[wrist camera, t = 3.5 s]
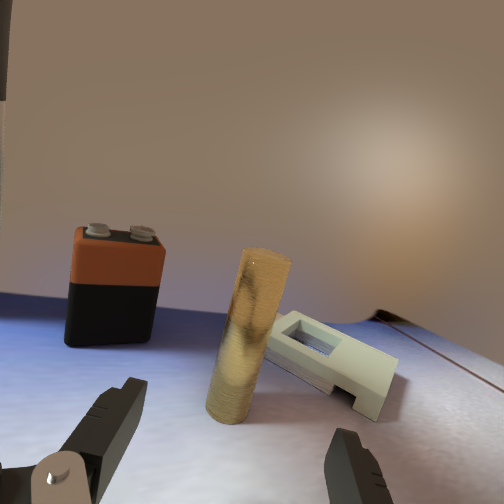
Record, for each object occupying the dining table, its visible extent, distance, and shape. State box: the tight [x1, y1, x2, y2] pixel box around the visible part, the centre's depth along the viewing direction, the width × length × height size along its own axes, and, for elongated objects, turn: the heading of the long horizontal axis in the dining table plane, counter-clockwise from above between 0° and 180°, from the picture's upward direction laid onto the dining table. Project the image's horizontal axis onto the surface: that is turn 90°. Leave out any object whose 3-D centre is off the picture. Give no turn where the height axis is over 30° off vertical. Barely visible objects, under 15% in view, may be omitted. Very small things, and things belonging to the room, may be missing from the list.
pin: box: [206, 247, 292, 424], centre depth 22 cm, size 3×3×12 cm
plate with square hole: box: [267, 310, 398, 422], centre depth 32 cm, size 12×8×2 cm, turn 58°
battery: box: [64, 223, 166, 346], centre depth 27 cm, size 4×7×10 cm, turn 118°
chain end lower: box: [264, 312, 336, 395], centre depth 34 cm, size 12×8×1 cm, turn 58°
